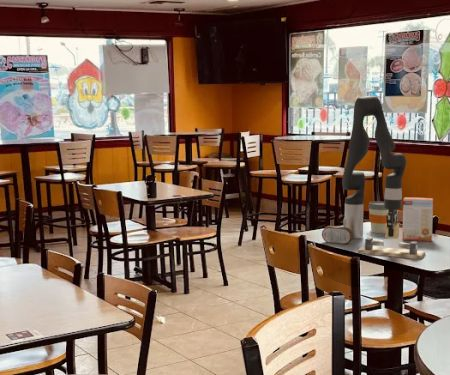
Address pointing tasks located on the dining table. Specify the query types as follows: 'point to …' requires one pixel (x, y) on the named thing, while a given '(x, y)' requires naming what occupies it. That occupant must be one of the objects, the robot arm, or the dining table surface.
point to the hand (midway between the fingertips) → (391, 235)
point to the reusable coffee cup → (377, 216)
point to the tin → (337, 235)
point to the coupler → (395, 232)
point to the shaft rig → (391, 249)
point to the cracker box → (417, 218)
